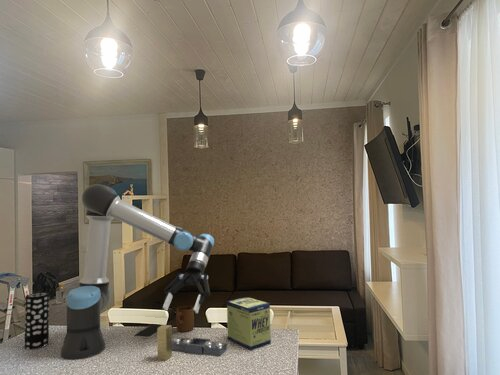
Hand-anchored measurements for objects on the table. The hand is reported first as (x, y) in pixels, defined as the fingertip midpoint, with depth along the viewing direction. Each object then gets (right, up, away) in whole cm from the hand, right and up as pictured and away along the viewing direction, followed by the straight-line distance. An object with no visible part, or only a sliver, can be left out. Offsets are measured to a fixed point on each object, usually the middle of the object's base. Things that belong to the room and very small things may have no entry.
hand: (179, 310), depth 135 cm
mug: (-2, -16, +18) cm, 24 cm away
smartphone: (-17, -17, +18) cm, 30 cm away
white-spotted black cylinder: (-59, -16, +5) cm, 61 cm away
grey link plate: (+8, -14, -4) cm, 16 cm away
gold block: (-3, -13, -11) cm, 17 cm away
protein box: (+27, -14, +3) cm, 31 cm away
